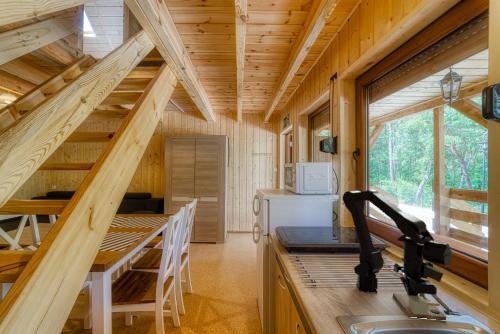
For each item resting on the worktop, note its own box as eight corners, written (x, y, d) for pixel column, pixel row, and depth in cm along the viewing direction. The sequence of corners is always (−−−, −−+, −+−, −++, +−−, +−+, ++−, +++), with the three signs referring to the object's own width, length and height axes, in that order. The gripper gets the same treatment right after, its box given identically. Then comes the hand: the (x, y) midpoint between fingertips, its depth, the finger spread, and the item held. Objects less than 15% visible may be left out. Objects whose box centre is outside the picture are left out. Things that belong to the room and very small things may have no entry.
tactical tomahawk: (468, 320, 85) (469, 317, 85) (445, 315, 87) (445, 312, 87) (439, 289, 106) (439, 286, 106) (420, 286, 107) (421, 283, 107)
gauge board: (408, 317, 84) (408, 297, 84) (392, 296, 98) (393, 279, 98) (446, 321, 82) (446, 301, 82) (425, 299, 96) (425, 282, 96)
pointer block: (413, 313, 84) (414, 301, 84) (408, 307, 88) (408, 295, 88) (442, 316, 82) (442, 304, 82) (435, 309, 86) (435, 297, 86)
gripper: (456, 269, 79) (455, 320, 79) (425, 249, 97) (425, 291, 97) (415, 266, 80) (415, 316, 81) (393, 247, 99) (392, 288, 99)
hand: (412, 302), depth 89 cm, fingers closed
